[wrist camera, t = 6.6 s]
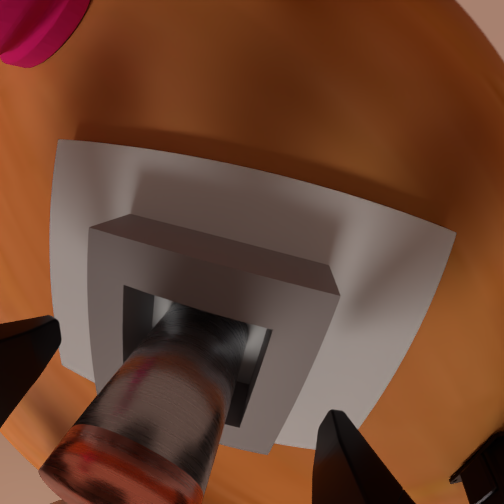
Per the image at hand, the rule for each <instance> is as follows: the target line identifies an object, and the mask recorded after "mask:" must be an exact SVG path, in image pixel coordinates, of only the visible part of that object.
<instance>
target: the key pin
mask: <svg viewBox="0 0 504 504" xmlns="http://www.w3.org/2000/svg"><path fill="white" fill-rule="evenodd" d="M247 341H248V328H247V324H246V323H245V322H241V321H238V320H234V319H230V318H227V317H223V316H220V315H216V314H213V313H209V312H206V311H203V310H199V309H196V308H193V307H189V306H186V305H183V304H180V303H177V302H175V303H174V304H173V305H172V306H171V308H170V309H169V310H168V311H167V312H166V313H165V315H164V316H163V317H162V318H161V319H160V320H159V322H158V323H157V324H156V325H155V326H154V327H153V329H152V330H151V331H150V332H149V333H148V335H147V336H146V337H145V338H144V339H143V340H142V342H141V343H140V344H139V345H138V346H137V348H136V349H135V350H134V351H133V352H132V354H131V355H130V356H129V357H128V358H127V360H126V361H125V362H124V363H123V364H122V366H121V367H120V368H119V369H118V371H117V372H116V373H115V374H114V375H113V377H112V378H111V379H110V380H109V382H108V383H107V384H106V385H105V386H104V388H103V389H102V390H101V391H100V393H99V394H98V395H97V396H96V398H95V399H94V400H93V401H92V402H91V404H90V405H89V406H88V407H87V409H86V410H85V411H84V412H83V414H82V415H81V416H80V418H79V419H78V420H77V421H76V423H75V424H74V425H73V426H72V428H71V429H70V430H69V431H68V433H67V434H66V435H65V437H64V438H63V439H62V440H61V442H60V443H59V444H58V446H57V447H56V448H55V449H54V451H53V452H52V453H51V455H50V456H49V457H48V459H47V460H46V461H45V463H44V464H43V465H42V467H41V468H40V469H39V475H40V477H41V478H42V480H43V481H44V482H45V483H46V484H47V485H48V487H49V488H50V489H51V490H52V491H53V492H55V493H56V494H57V495H58V496H59V497H60V498H61V499H62V500H64V501H65V502H66V503H67V504H201V503H202V500H203V496H204V493H205V490H206V486H207V483H208V480H209V476H210V473H211V470H212V466H213V463H214V459H215V456H216V452H217V449H218V446H219V442H220V439H221V435H222V432H223V428H224V425H225V421H226V418H227V414H228V410H229V407H230V403H231V400H232V396H233V393H234V389H235V385H236V382H237V378H238V374H239V371H240V367H241V363H242V360H243V356H244V352H245V349H246V345H247Z"/></svg>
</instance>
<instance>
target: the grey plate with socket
mask: <svg viewBox="0 0 504 504" xmlns="http://www.w3.org/2000/svg"><path fill="white" fill-rule="evenodd" d="M455 237H456V232H454V231H451V230H449V229H447V228H444V227H442V226H439V225H437V224H434V223H432V222H429V221H426V220H424V219H421V218H418V217H415V216H413V215H410V214H407V213H404V212H402V211H399V210H396V209H393V208H390V207H387V206H384V205H381V204H378V203H375V202H372V201H369V200H366V199H363V198H360V197H356V196H353V195H350V194H347V193H343V192H340V191H337V190H333V189H330V188H326V187H323V186H319V185H316V184H312V183H308V182H305V181H301V180H297V179H293V178H289V177H286V176H282V175H278V174H274V173H269V172H265V171H261V170H257V169H252V168H248V167H244V166H239V165H234V164H230V163H225V162H220V161H215V160H210V159H205V158H200V157H194V156H189V155H183V154H178V153H172V152H166V151H159V150H153V149H146V148H139V147H132V146H124V145H117V144H108V143H99V142H89V141H79V140H63V139H58V145H57V151H56V158H55V165H54V173H53V183H52V194H51V209H50V276H51V291H52V302H53V311H54V318H56V319H57V320H58V321H59V323H60V330H61V337H62V341H61V344H60V346H59V352H60V357H61V362H62V365H63V366H65V367H67V368H68V369H70V370H72V371H74V372H75V373H77V374H79V375H81V376H83V377H85V378H87V379H89V380H90V381H92V382H94V383H95V385H96V391H97V395H98V394H99V393H100V391H101V390H102V389H103V388H104V386H105V385H106V384H107V383H108V382H109V380H110V379H111V378H112V377H113V375H114V374H115V373H116V372H117V371H118V369H119V368H120V367H121V366H122V364H123V363H124V362H125V361H126V360H127V358H128V357H129V356H130V355H131V354H132V352H133V351H134V350H135V349H136V348H137V346H138V345H139V344H140V343H141V342H142V340H143V339H144V338H145V337H146V336H147V335H148V333H149V332H150V331H151V330H152V329H153V327H154V326H155V325H156V324H157V323H158V322H159V320H160V319H161V318H162V317H163V316H164V315H165V313H166V312H167V311H168V310H169V309H170V308H171V306H172V305H173V304H174V303H175V302H177V303H180V304H183V305H186V306H189V307H193V308H196V309H199V310H203V311H206V312H209V313H213V314H216V315H220V316H223V317H227V318H230V319H234V320H238V321H241V322H245V323H246V324H247V328H248V341H247V345H246V349H245V352H244V356H243V360H242V363H241V367H240V371H239V374H238V378H237V382H236V385H235V389H234V393H233V396H232V400H231V403H230V407H229V410H228V414H227V418H226V421H225V425H224V428H223V432H222V435H221V439H220V442H219V444H221V445H225V446H229V447H233V448H237V449H242V450H246V451H251V452H255V453H260V454H265V455H268V453H269V452H270V450H271V448H272V446H273V444H274V443H276V444H281V445H287V446H294V447H300V448H308V449H316V442H317V434H318V429H319V426H320V424H321V423H322V421H323V419H324V418H325V416H326V415H327V413H328V411H329V410H331V409H335V410H342V411H344V412H345V413H346V415H347V416H348V417H349V419H350V420H351V421H352V423H353V424H354V425H355V427H356V428H357V429H358V428H359V427H360V426H361V424H362V423H363V421H364V420H365V419H366V417H367V416H368V414H369V413H370V411H371V410H372V409H373V407H374V406H375V404H376V403H377V401H378V400H379V398H380V396H381V395H382V393H383V392H384V390H385V389H386V387H387V385H388V384H389V382H390V380H391V379H392V377H393V375H394V374H395V372H396V370H397V369H398V367H399V365H400V363H401V362H402V360H403V358H404V356H405V354H406V352H407V351H408V349H409V347H410V345H411V343H412V341H413V339H414V337H415V335H416V333H417V331H418V329H419V327H420V325H421V323H422V321H423V319H424V317H425V314H426V312H427V310H428V308H429V306H430V303H431V301H432V299H433V296H434V294H435V292H436V289H437V287H438V284H439V282H440V279H441V277H442V274H443V271H444V269H445V266H446V263H447V261H448V258H449V255H450V252H451V249H452V246H453V243H454V240H455Z"/></svg>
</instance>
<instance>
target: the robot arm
mask: <svg viewBox="0 0 504 504" xmlns="http://www.w3.org/2000/svg"><path fill="white" fill-rule="evenodd" d="M61 341H62V337H61V330H60V323H59V321H58V320H57V319H56V318H54V317H52V316H50V315H47V316H41V317H36V318H31V319H25V320H20V321H14V322H8V323H3V324H0V428H1V427H2V425H3V424H4V422H5V421H6V420H7V418H8V417H9V415H10V414H11V413H12V411H13V410H14V409H15V407H16V406H17V405H18V403H19V402H20V401H21V399H22V398H23V397H24V395H25V394H26V393H27V392H28V390H29V389H30V388H31V386H32V385H33V384H34V383H35V381H36V380H37V379H38V378H39V376H40V375H41V373H42V372H43V370H44V369H45V367H46V366H47V364H48V363H49V361H50V360H51V358H52V357H53V355H54V354H55V352H56V351H57V349H58V348H59V346H60V344H61ZM449 482H450V484H454V483H458V482H462V483H463V486H464V489H465V492H466V495H467V498H468V501H469V504H504V432H500V433H497V434H495V435H494V436H492V437H491V438H490V440H489V441H488V442H487V443H486V444H485V445H484V446H483V447H482V448H481V449H480V450H479V451H478V452H477V454H476V455H475V456H474V457H473V458H472V459H471V460H470V461H469V462H468V463H467V464H465V465H464V466H463V467H462V468H461V469H460V470H459V471H458V472H457V473H456V474H455V475H454V476H453V477H451V478H450V479H449ZM312 504H415V502H414V501H413V500H412V499H411V498H410V496H409V495H408V494H407V493H406V491H405V490H403V488H402V486H401V485H400V484H399V483H398V481H397V480H396V479H395V477H394V476H393V475H392V474H391V472H390V471H389V470H388V468H387V467H386V466H385V465H384V463H383V462H382V461H381V459H380V458H379V457H378V456H377V454H376V453H375V452H374V450H373V449H372V448H371V446H370V445H369V444H368V442H367V441H366V440H365V439H364V437H363V436H362V435H361V433H360V432H359V431H358V429H357V428H356V427H355V425H354V424H353V423H352V421H351V420H350V419H349V417H348V416H347V415H346V413H345V412H344V411H342V410H335V409H331V410H329V411H328V413H327V415H326V416H325V418H324V419H323V421H322V423H321V424H320V426H319V429H318V434H317V442H316V450H315V458H314V465H313V476H312Z"/></svg>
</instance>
